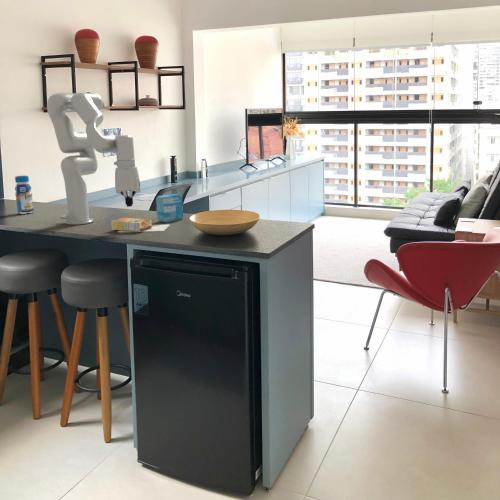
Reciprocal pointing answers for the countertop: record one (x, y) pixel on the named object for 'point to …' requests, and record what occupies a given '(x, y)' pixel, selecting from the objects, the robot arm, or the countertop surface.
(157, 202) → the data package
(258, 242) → the countertop surface
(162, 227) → the felt mat
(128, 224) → the candy box
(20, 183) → the beverage bottle
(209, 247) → the countertop surface
